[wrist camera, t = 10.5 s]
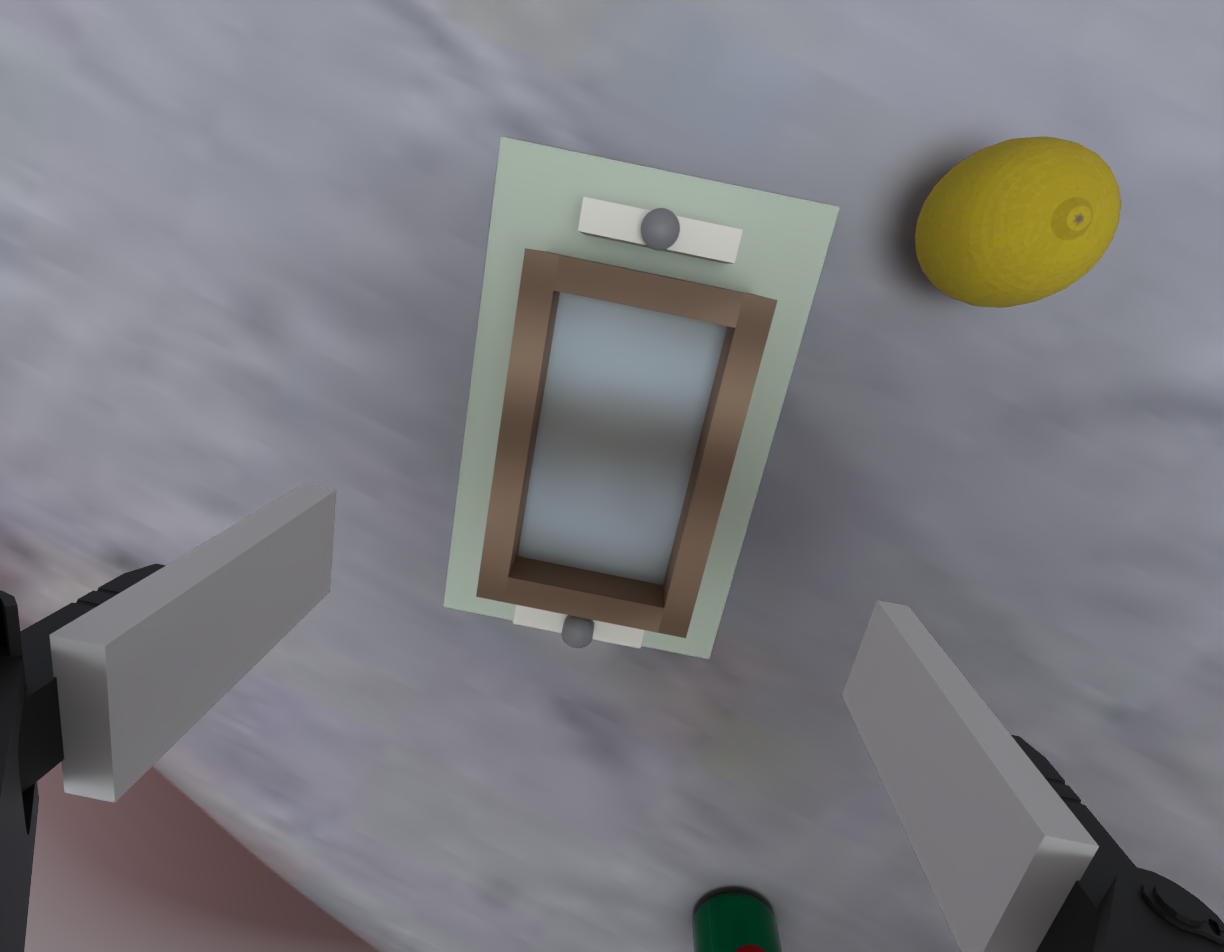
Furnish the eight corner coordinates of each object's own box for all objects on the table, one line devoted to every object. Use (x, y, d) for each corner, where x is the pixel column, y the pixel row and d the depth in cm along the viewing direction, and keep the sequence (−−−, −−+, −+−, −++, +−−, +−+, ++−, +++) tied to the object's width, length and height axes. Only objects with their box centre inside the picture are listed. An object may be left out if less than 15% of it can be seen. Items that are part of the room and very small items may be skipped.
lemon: (889, 164, 25) (994, 121, 18) (1032, 153, 25) (1201, 103, 17) (880, 306, 27) (972, 321, 19) (1014, 297, 27) (1161, 308, 19)
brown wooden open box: (679, 581, 31) (686, 638, 26) (501, 546, 31) (476, 596, 26) (754, 294, 27) (777, 300, 22) (546, 251, 27) (524, 248, 22)
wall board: (708, 653, 33) (717, 708, 29) (446, 601, 33) (417, 649, 29) (836, 208, 26) (872, 197, 22) (503, 139, 26) (477, 114, 22)
